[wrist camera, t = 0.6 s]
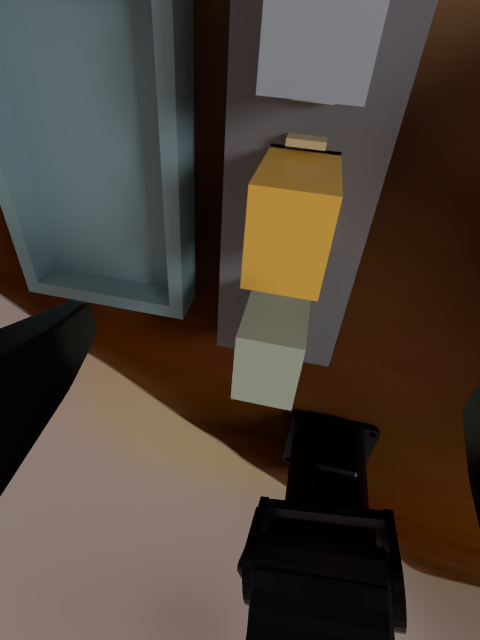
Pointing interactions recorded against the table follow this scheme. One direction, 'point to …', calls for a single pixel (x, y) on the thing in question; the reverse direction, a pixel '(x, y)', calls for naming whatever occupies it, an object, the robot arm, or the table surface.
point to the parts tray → (100, 149)
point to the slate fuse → (319, 49)
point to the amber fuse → (291, 221)
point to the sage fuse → (270, 349)
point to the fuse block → (319, 134)
